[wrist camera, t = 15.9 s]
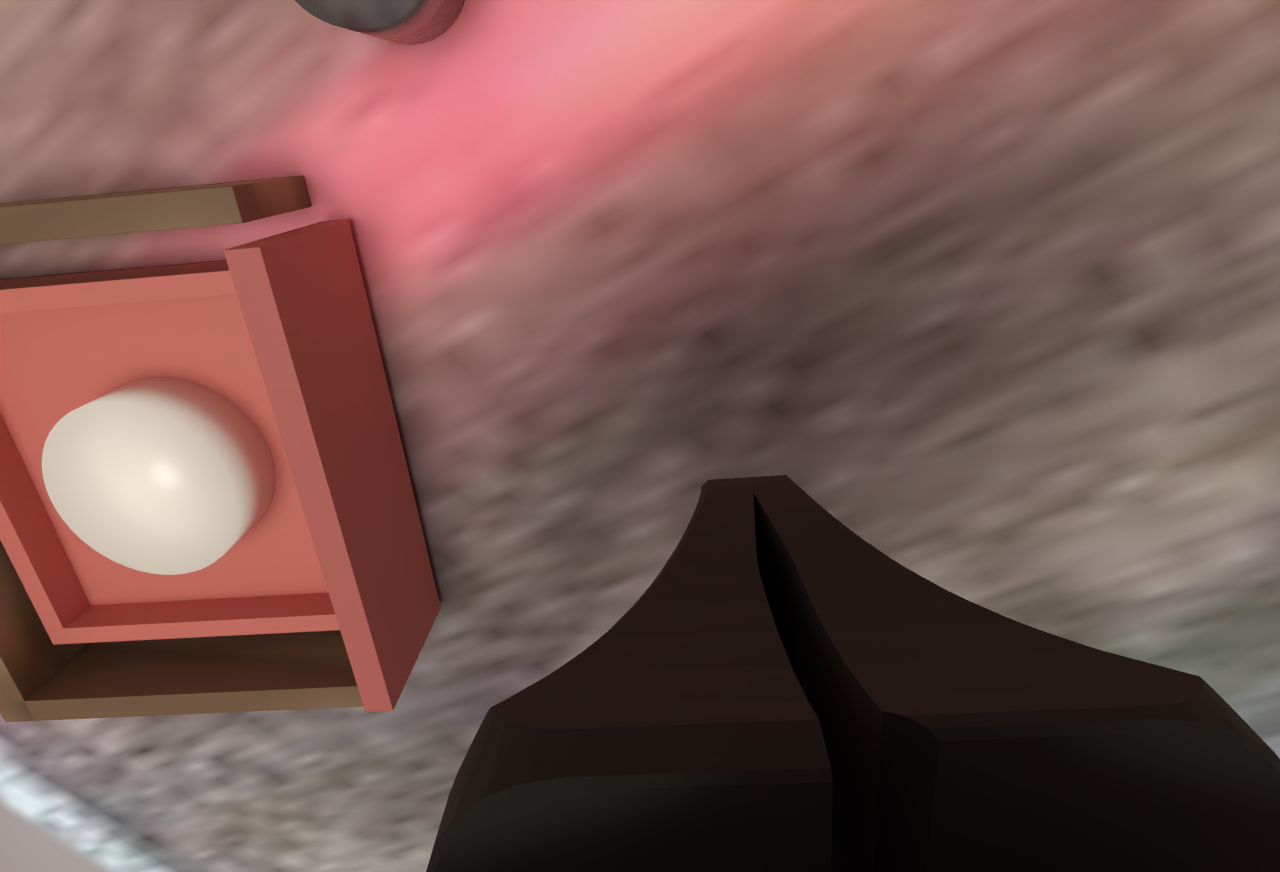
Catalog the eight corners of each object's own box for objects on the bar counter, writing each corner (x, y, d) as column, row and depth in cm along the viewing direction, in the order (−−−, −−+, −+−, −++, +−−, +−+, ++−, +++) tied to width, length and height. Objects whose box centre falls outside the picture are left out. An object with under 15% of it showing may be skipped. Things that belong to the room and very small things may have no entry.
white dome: (133, 543, 23) (87, 579, 21) (65, 383, 21) (8, 408, 19) (296, 533, 23) (264, 569, 21) (244, 369, 21) (203, 393, 19)
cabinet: (419, 632, 26) (384, 705, 22) (85, 648, 26) (5, 721, 23) (303, 175, 20) (231, 186, 16) (-125, 215, 20) (-272, 232, 17)
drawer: (440, 607, 25) (393, 710, 20) (106, 625, 26) (-8, 727, 21) (348, 219, 20) (258, 247, 15) (-65, 256, 20) (-260, 292, 16)
